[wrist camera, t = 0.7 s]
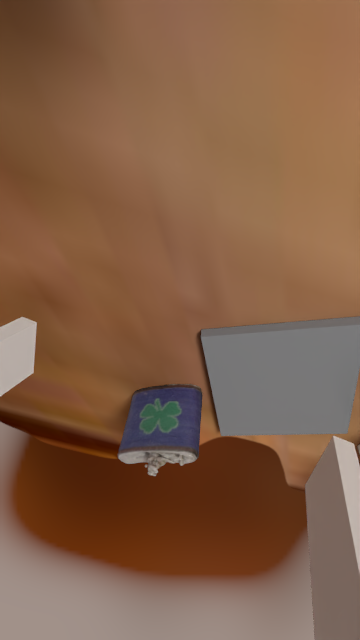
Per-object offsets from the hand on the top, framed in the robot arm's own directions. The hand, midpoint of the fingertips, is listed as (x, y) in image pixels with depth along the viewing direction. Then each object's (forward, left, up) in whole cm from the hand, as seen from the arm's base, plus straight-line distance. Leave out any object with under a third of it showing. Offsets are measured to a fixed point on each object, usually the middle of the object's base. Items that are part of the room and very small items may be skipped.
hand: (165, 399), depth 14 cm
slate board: (+21, +7, -19) cm, 29 cm away
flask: (+22, -7, -19) cm, 30 cm away
